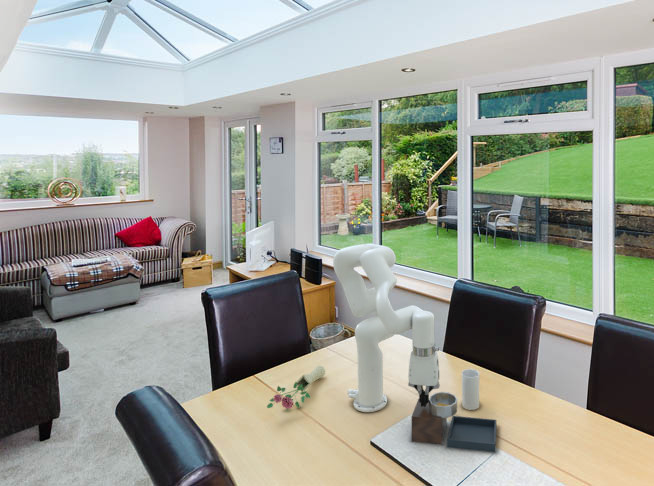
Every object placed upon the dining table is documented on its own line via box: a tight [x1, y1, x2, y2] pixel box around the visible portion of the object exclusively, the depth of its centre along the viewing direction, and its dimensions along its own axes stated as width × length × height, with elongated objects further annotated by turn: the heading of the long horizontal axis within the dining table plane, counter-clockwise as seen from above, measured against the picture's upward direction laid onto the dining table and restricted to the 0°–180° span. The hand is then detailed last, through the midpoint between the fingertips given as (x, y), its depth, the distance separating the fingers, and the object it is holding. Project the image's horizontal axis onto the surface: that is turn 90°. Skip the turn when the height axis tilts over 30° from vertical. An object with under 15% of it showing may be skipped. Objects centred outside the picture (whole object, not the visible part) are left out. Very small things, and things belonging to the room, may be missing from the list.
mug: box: [461, 368, 480, 411], centre depth 161 cm, size 10×7×12 cm, turn 159°
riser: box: [411, 398, 448, 445], centre depth 143 cm, size 10×11×8 cm
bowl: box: [429, 391, 458, 419], centre depth 143 cm, size 9×9×4 cm
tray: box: [446, 415, 498, 453], centre depth 141 cm, size 15×13×2 cm
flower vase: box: [266, 365, 326, 411], centre depth 164 cm, size 12×12×35 cm
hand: (424, 404), depth 144 cm, fingers closed
